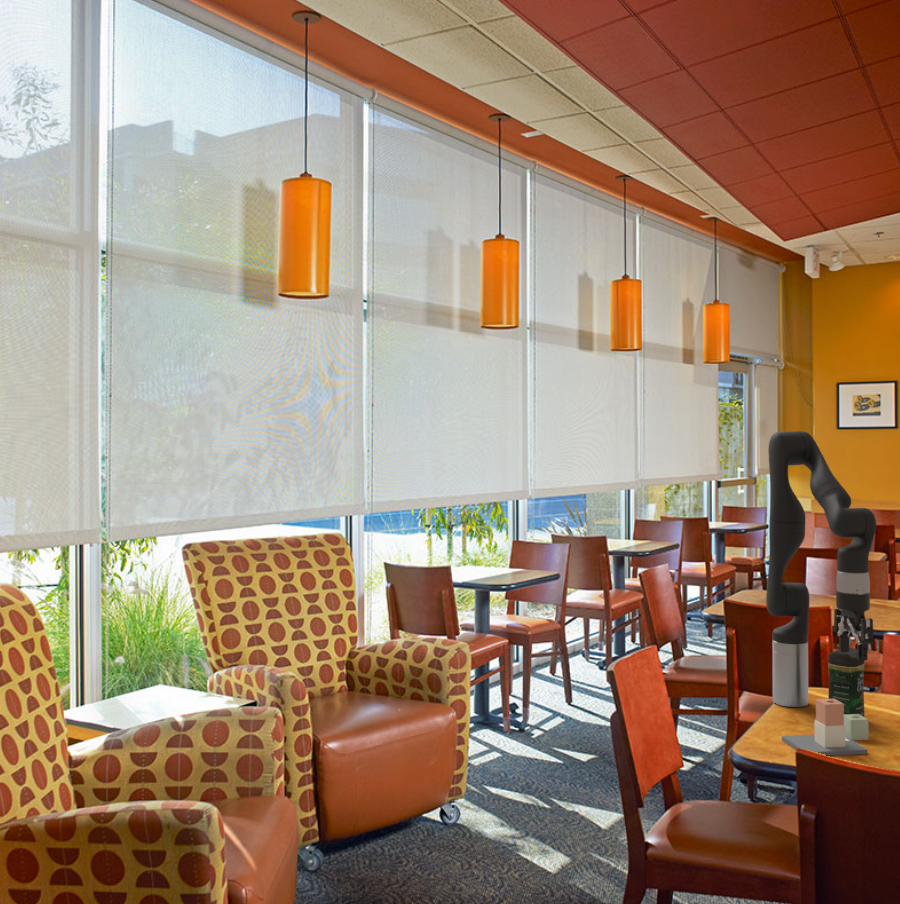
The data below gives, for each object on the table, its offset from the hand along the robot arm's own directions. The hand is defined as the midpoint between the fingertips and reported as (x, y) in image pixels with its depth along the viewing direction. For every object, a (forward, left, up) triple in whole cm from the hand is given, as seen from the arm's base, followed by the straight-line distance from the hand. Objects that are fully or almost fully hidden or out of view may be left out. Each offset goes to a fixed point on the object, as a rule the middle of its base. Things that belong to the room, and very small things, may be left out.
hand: (853, 655), depth 227 cm
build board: (+6, -11, -20) cm, 23 cm away
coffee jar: (-13, +5, -20) cm, 25 cm away
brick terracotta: (+7, -10, -14) cm, 18 cm away
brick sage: (0, 0, -20) cm, 20 cm away
